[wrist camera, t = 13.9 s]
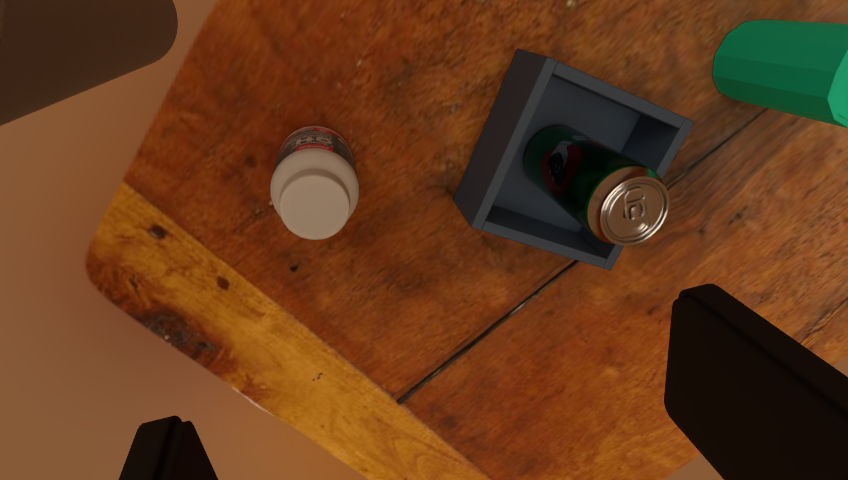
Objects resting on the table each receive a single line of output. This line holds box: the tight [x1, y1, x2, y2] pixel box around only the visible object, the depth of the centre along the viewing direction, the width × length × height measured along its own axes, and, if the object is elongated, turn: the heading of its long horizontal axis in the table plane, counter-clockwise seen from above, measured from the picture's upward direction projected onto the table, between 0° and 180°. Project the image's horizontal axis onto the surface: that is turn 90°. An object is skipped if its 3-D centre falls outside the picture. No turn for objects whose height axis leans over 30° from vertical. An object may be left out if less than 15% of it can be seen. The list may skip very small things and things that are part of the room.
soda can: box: [524, 125, 670, 246], centre depth 36 cm, size 5×5×12 cm
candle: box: [712, 19, 848, 128], centre depth 36 cm, size 6×6×12 cm
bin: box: [453, 49, 694, 270], centre depth 39 cm, size 12×12×6 cm
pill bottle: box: [270, 126, 359, 240], centre depth 34 cm, size 5×5×10 cm
